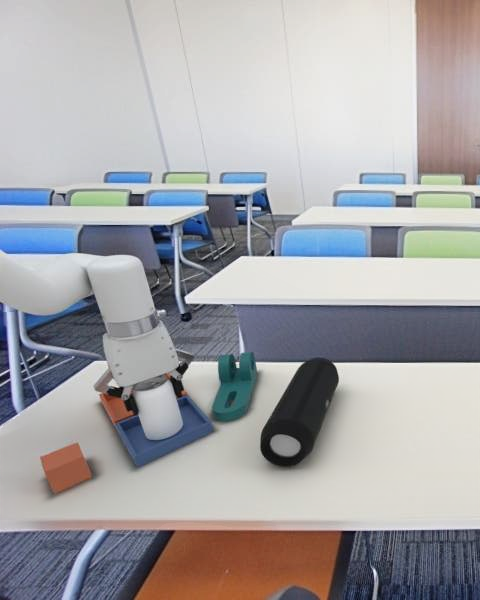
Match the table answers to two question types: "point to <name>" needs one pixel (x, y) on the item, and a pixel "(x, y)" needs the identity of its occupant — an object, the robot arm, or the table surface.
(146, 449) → the blue tray
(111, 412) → the terracotta tray
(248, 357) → the bracket
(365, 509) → the table surface
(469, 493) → the table surface
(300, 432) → the portable speaker
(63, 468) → the block
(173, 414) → the can
